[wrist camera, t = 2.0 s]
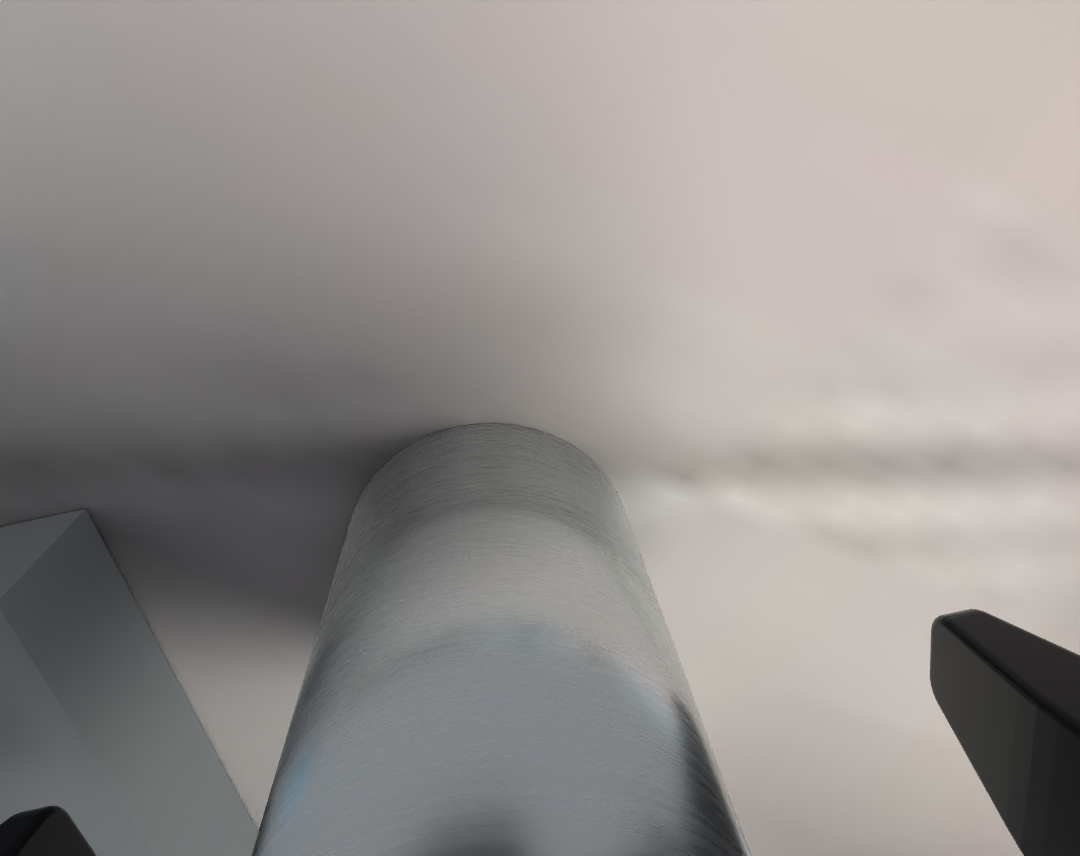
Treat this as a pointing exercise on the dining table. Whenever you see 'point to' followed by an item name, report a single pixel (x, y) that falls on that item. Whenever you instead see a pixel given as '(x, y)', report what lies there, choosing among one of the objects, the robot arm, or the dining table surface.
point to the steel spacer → (495, 674)
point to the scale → (101, 706)
